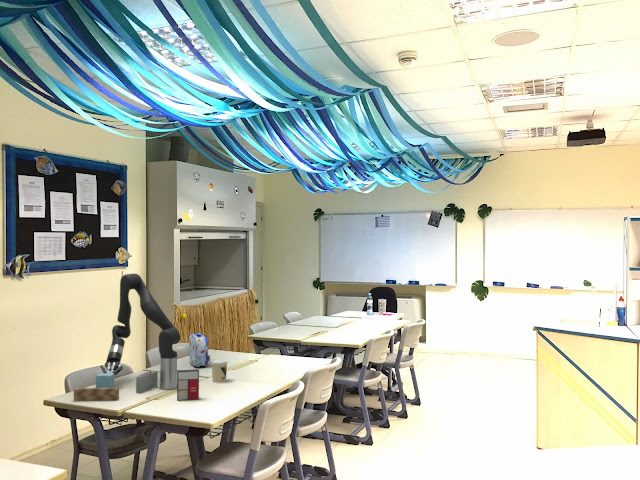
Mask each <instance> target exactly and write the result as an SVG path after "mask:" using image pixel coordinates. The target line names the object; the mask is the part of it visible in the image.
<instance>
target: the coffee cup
mask: <svg viewBox="0 0 640 480" xmlns="http://www.w3.org/2000/svg"><path fill="white" fill-rule="evenodd" d="M227 370H228V361H227V360H226V359H215V360H211V376H212V379H211V380H212V383H214V382H223V383H225V382H224V381H227Z"/></svg>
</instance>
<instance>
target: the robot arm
mask: <svg viewBox="0 0 640 480" xmlns="http://www.w3.org/2000/svg"><path fill="white" fill-rule="evenodd" d="M131 290H135V292H136V293H137V295H138V296H139V297H138V298H139V306H140V307H139V308H140V309H141V311H142V312H143V314H144V316H145V317H146V318H147V319H148V320H149V321H150V322H152V323H154V324H155V325H156V326H158V327H159V328H160V329H161V331H160V332H159V334H158V335H159V336H158V352H159V355H160V359H159V360H160V361H159V362H160V366H159V367H160V368H159V369H160V370H159V372H160V373H159V374H160V375H159V378H160V379H159V388H160V389H161V390H177V371H178V370H179V369H178V352H177V351H175V350H174V349H173V345H177V344H178V343H180V341H181V333H180V331H179V330H178V329H177V327H176V326H175V325H174V324H173V323H172V321H170V319H169V318H168V317H167V315H166V314H165V312H164V311H163V310H162V308H161V306H160V305H159V304H158V302H157V301H156V300H155V298H154V297H153V295H152V294H151V292H150V291H149V289H148V288H147V286H146V284H145V282H144V280H143V278H142V276H141V275H139V274H138V273H127V274H123V275H122V276H121V277H120V282H119V308H118V314H117V319H116V320H117V322H118V323H121V324H122V325H120V324H115V325H114V326H113V327H112V329H111V334H112V335H111V337H112V341H111V345H110V348H109V351H108V354H107V358H106V361H105V362H104V365H100V366H99V367H100V370H101V371H102V373H114V376H117V375H118V374H119V373H120V372H122V370H124V366H123V365H122V364H121V361H122V357H123V353H124V352H123V351H124V347H125V343H126V341H125V340H124V339H128V338H129V337H130V336H131V333H132V332H131V325H130V324H131V315H132V305H131V302H130V299H129V296H130V295H129V294H130V291H131ZM106 370H107V371H106Z"/></svg>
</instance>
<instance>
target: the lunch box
mask: <svg viewBox="0 0 640 480" xmlns="http://www.w3.org/2000/svg"><path fill="white" fill-rule="evenodd" d="M188 353H189V354H188V355H189V356H188V357H189V360H190V363H191V365H192V366H193V367H194V366H195V368H201V367H200V366H207V367H208V365H209V362H210V361H211V356H210V355H209V340H208V337H207V336H205V335H204V334H203V333H201V332H199V333H191V334H189V337H188Z"/></svg>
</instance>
